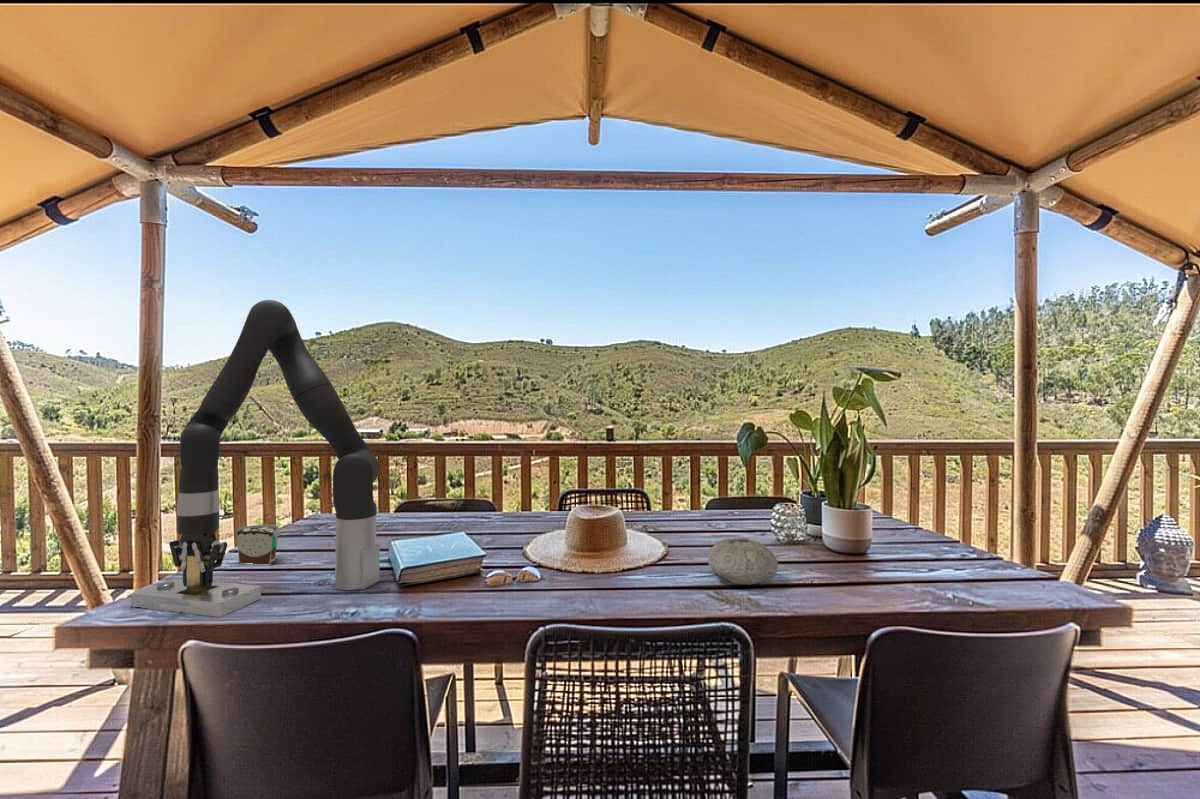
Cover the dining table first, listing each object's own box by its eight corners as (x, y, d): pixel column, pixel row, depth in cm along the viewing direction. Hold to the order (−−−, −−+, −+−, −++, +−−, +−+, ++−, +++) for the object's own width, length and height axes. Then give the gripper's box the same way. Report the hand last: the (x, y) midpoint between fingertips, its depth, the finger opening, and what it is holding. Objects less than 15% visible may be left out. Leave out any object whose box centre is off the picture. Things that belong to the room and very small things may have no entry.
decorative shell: (792, 587, 125) (792, 547, 125) (733, 596, 119) (733, 554, 119) (748, 565, 142) (748, 530, 142) (694, 572, 136) (694, 536, 136)
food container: (290, 559, 145) (291, 524, 145) (274, 565, 139) (275, 530, 139) (251, 557, 146) (252, 523, 146) (234, 564, 140) (234, 528, 140)
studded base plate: (260, 599, 115) (261, 583, 115) (220, 617, 106) (220, 600, 106) (177, 590, 120) (177, 575, 120) (130, 607, 110) (131, 590, 110)
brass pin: (213, 591, 114) (213, 552, 115) (196, 597, 111) (196, 557, 111) (199, 589, 115) (199, 551, 115) (181, 596, 111) (182, 556, 111)
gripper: (239, 509, 115) (238, 583, 115) (190, 506, 118) (188, 578, 118) (208, 516, 108) (207, 595, 108) (156, 512, 111) (154, 589, 111)
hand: (197, 585), depth 113 cm, fingers closed on brass pin, 4 cm apart
